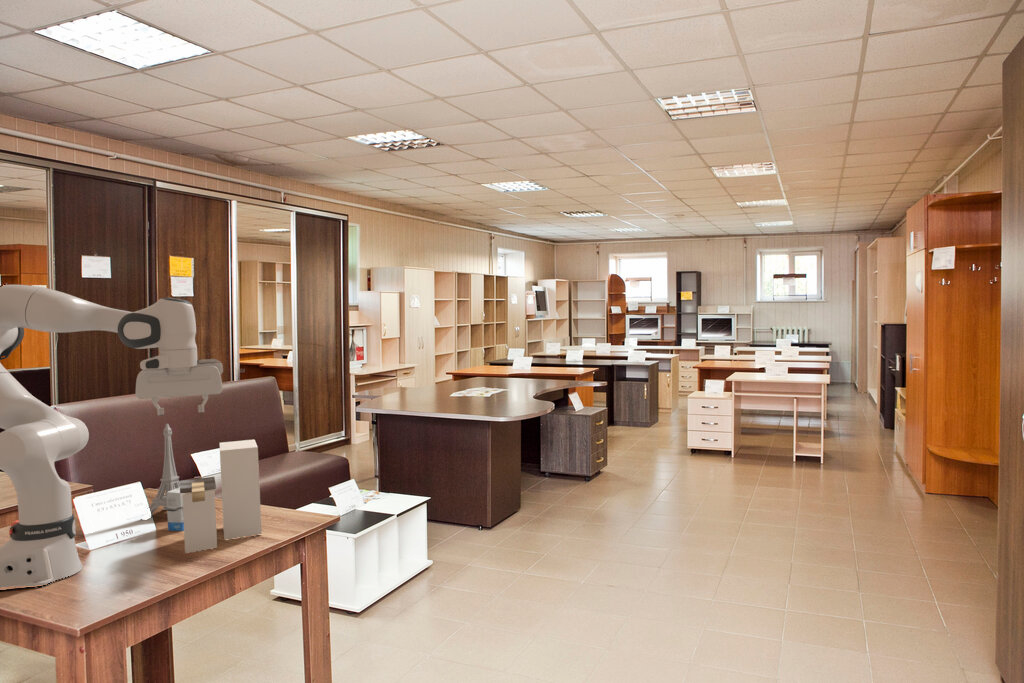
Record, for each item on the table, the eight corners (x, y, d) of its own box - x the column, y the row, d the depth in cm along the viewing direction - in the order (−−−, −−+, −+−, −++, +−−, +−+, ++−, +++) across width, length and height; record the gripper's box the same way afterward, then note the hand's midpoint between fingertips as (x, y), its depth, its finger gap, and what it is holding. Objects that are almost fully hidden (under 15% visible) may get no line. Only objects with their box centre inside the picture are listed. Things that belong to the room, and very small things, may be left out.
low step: (185, 553, 184) (182, 495, 184) (186, 538, 197) (183, 483, 197) (217, 548, 188) (214, 491, 187) (216, 534, 200) (213, 480, 200)
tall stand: (224, 540, 194) (220, 450, 193) (223, 527, 207) (219, 442, 206) (261, 535, 198) (257, 447, 197) (258, 522, 211) (254, 439, 210)
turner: (180, 484, 196) (180, 475, 196) (214, 480, 200) (214, 471, 199) (179, 503, 175) (179, 494, 175) (217, 499, 179) (217, 489, 179)
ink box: (181, 531, 204) (179, 492, 203) (167, 531, 205) (165, 492, 204) (200, 522, 212) (198, 485, 212) (186, 522, 213) (184, 485, 213)
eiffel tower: (139, 520, 217) (134, 427, 216) (167, 508, 230) (163, 420, 229) (176, 521, 215) (171, 427, 213) (202, 509, 228) (198, 420, 227)
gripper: (222, 357, 183) (224, 408, 183) (135, 361, 174) (138, 415, 175) (222, 358, 177) (225, 411, 177) (133, 363, 168) (136, 418, 169)
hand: (181, 413), depth 176 cm, fingers open, 8 cm apart
